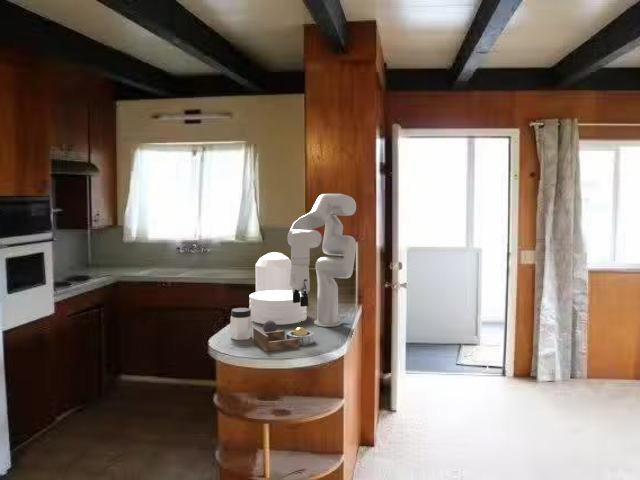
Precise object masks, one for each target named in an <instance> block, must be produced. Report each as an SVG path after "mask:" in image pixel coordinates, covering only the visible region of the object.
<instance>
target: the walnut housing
mask: <svg viewBox="0 0 640 480" xmlns="http://www.w3.org/2000/svg"><path fill="white" fill-rule="evenodd" d="M252 331H253V332H252V337H253V341H252V342H253V343H254V344H255V345H257V346H258V347H260V348H261V349H262V350H263V351H265V352H266V351H267V352H273V350H275V351H280V350H282V349H283V350H291V349H297V348H299V345H298V338H295V339H287V338H286V331H285V330H276V331H273V332H264V331H262V330H260V329H259V328H257V327H253V328H252Z"/></svg>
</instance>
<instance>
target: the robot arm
mask: <svg viewBox="0 0 640 480" xmlns="http://www.w3.org/2000/svg"><path fill="white" fill-rule="evenodd" d="M356 210H357V202H356V201H355V199H354V198H353V197H351V196H349V195H346V194H343V193H322V194H320V195H319V196H318V197H317V198H316V200H315V202H314V203H313V206H312V207H311V210H309V212H308V213H306V214H305V215H302V216H300V217H299V218H298V219H297V220H295V221H294V222H293V223H292V225H291V227H290V229H289V231H288V233H287V237H286V238H287V242H288V245H289V246H290V261H291V273H290V287H291V288H292V289H293V290H292V293H293V303H300V306H301V307H304V306H307V307H308V306H309V294H310V290H311V288H310V282H311V281H310V261H311V259H310V249H314V248H315V249H316V248H317V247H319V246H320V245H321V244H322V246H321V249H322V252H323V254H325V255H328V256H321V257H319V258H318V259H317V260H316V261H315V272H316V282H317V297H316V299H317V305H316V306H317V310H316V311H317V314H316V315H317V316H316V317H317V319H315V320H314V321H313V323H314V325H315V326H317V327H323V328H326V327H327V328H330V327H331V328H332V327H334V328H335V327H338V326H340V325H342V321H341V320H345V319H348V315H347V314H339V310H338V309H339V305H338V304H339V297H338V296H339V287H338V283H337V282H336V279H349V278H351V277H352V276H353V272H354V266H355V261H356V260H355V258H356V253H357V252H356V251H357V242H356V239H355V238H354V236H351V235H343V233H344V232H343V231H344V225H343V224H342V221H341V220H340V218H338V216H342V217H343V216H345V217H346V216H347V217H348V216H353V215H354V214H355V213H356V212H357V211H356ZM323 226H324V234H323V237H322V234H321V232H320V231H318V230H316V229H317V228H320V227H321V228H322V227H323ZM337 256H340V257H337ZM342 256H343V257H342ZM335 278H336V279H335ZM299 292H301V297H300V293H299Z"/></svg>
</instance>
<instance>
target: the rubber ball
mask: <svg viewBox="0 0 640 480" xmlns="http://www.w3.org/2000/svg"><path fill="white" fill-rule="evenodd" d="M262 325H263V326H262V329H263V333H265V332H273V331H278V330H277V329H278V326H277V325H276V323H275V322H274V321H271V320H269V321H267V322H265V323H264V324H262Z"/></svg>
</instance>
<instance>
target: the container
mask: <svg viewBox="0 0 640 480" xmlns="http://www.w3.org/2000/svg"><path fill="white" fill-rule="evenodd" d="M254 267H255V271H254V272H255V292H259V291H267V290H291V291H292V290H293V289H292V288H291V287H290V273H291V258H289V257H288V256H287V255H285V254H284V253H282V252H276V251H273V252H268V253H266V254H264V255H263V256H261V257H259V259H257V262H256V263H255V266H254Z"/></svg>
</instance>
